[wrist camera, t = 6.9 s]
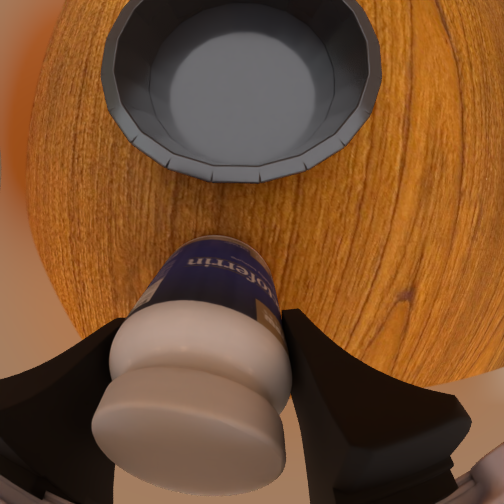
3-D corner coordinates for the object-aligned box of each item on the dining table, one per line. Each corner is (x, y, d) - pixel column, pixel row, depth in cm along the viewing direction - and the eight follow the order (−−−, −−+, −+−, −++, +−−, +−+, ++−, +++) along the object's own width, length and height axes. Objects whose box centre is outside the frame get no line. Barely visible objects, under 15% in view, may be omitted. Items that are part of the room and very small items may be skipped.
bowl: (215, 216, 14) (201, 242, 9) (110, 70, 11) (65, 46, 7) (377, 112, 12) (426, 100, 8) (267, -24, 9) (274, -70, 5)
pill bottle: (294, 270, 14) (362, 443, 5) (235, 346, 15) (230, 511, 6) (196, 209, 13) (91, 334, 3) (146, 298, 14) (62, 449, 5)
